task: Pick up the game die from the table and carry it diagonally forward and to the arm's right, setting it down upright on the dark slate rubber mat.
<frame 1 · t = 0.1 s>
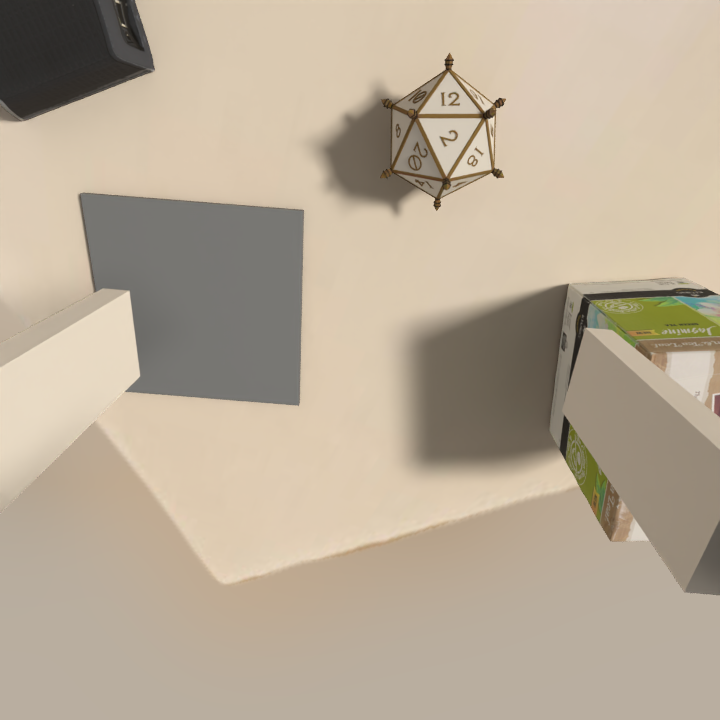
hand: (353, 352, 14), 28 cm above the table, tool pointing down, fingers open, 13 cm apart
tea box: (608, 358, 44), on the table
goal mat: (200, 306, 43), on the table
game die: (436, 138, 37), on the table
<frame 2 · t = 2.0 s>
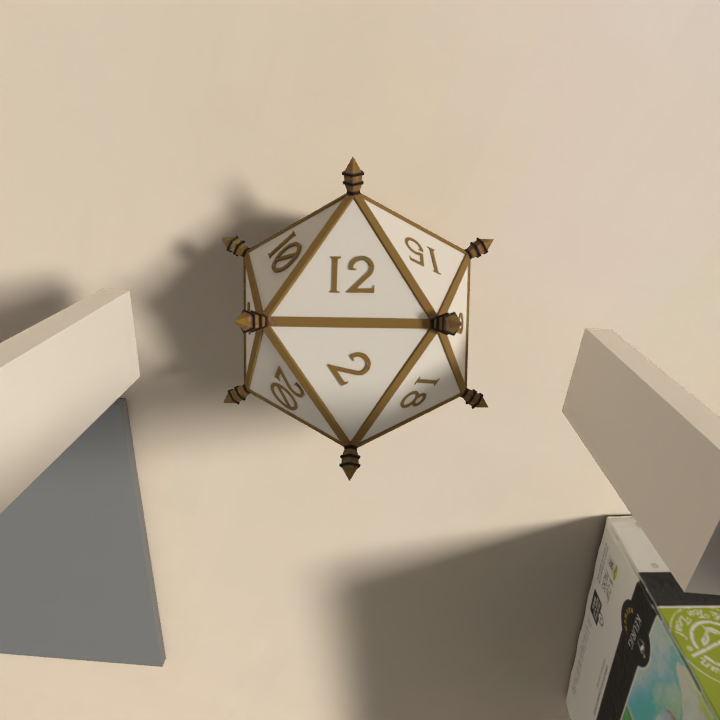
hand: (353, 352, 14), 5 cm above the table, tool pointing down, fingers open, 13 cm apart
tea box: (667, 613, 26), on the table
game die: (360, 285, 19), on the table
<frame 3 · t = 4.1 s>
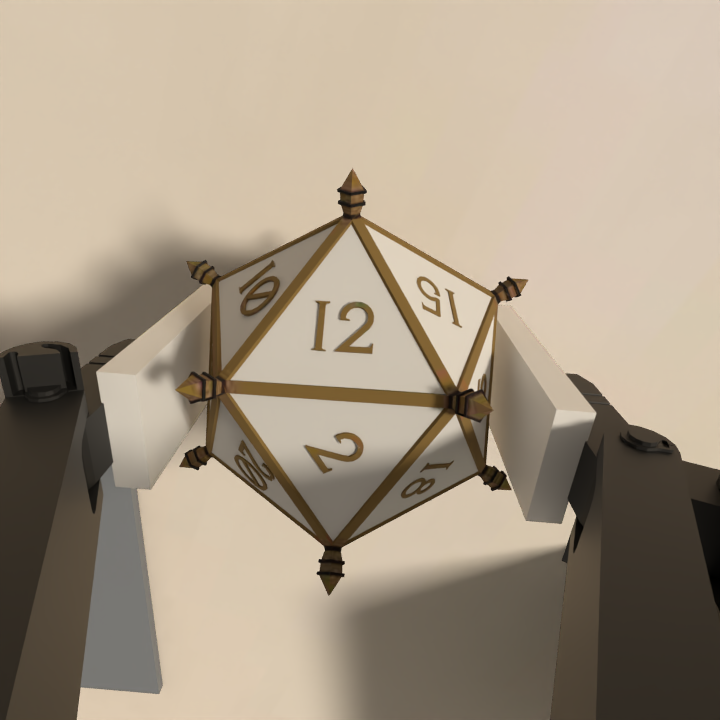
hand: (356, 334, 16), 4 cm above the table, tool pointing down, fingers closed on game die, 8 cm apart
game die: (359, 319, 16), point 3 cm above the table, touching gripper
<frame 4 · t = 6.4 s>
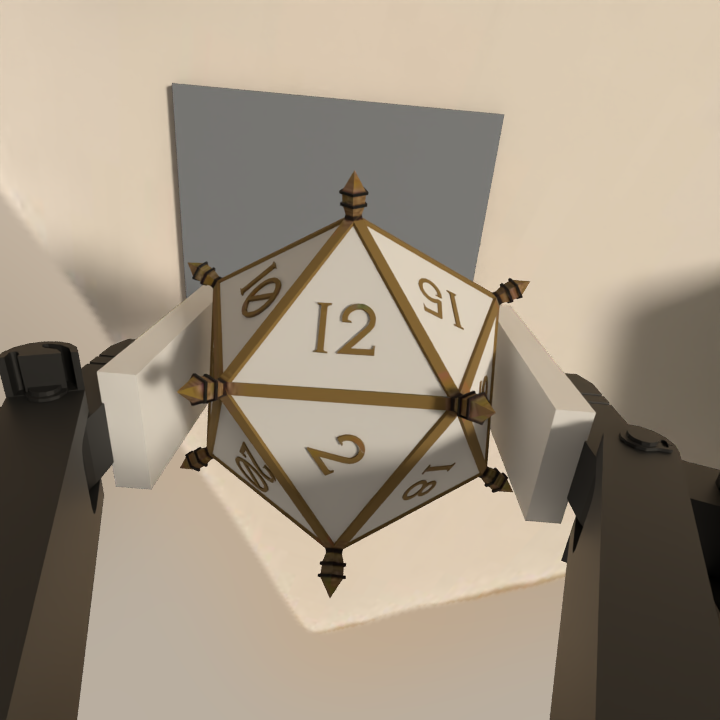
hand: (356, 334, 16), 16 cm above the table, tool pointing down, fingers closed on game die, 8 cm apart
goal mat: (329, 261, 30), on the table
game die: (360, 320, 16), point 15 cm above the table, touching gripper
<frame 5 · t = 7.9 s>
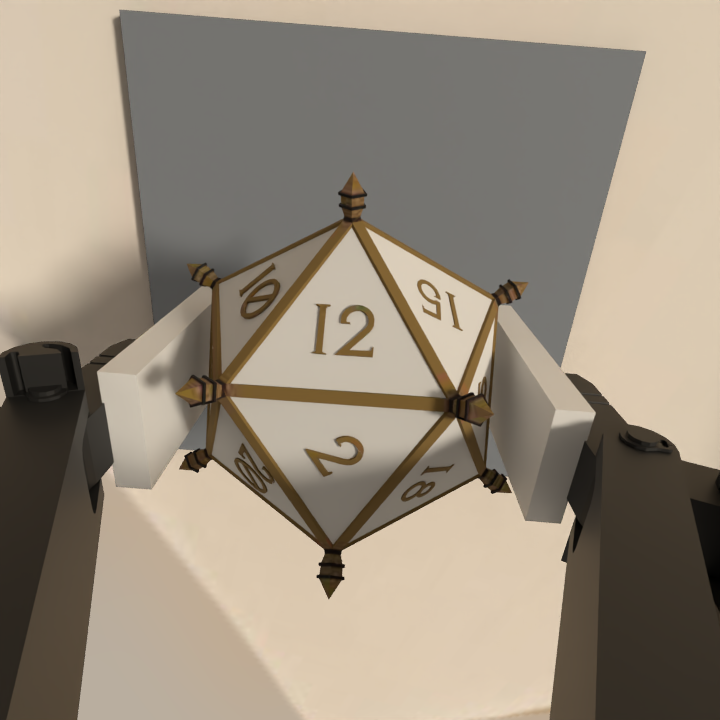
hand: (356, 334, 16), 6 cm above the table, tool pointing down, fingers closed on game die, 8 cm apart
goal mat: (362, 283, 21), on the table
game die: (359, 321, 16), point 5 cm above the table, touching gripper
when the fingers open (2 cm above the table, at t = 8.9 s): game die stays where it is, resting on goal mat.
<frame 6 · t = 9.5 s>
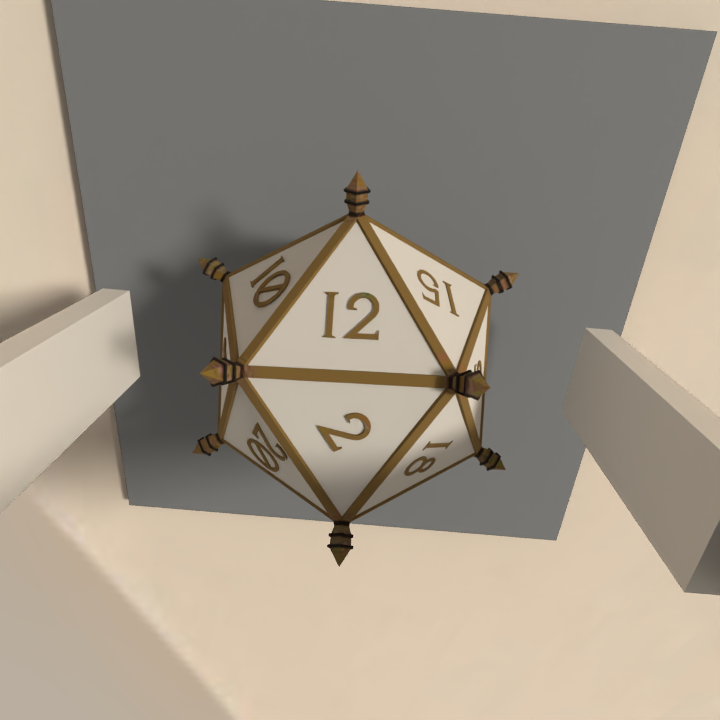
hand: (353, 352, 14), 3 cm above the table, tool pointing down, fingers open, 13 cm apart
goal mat: (358, 316, 17), on the table
game die: (358, 314, 17), resting on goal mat
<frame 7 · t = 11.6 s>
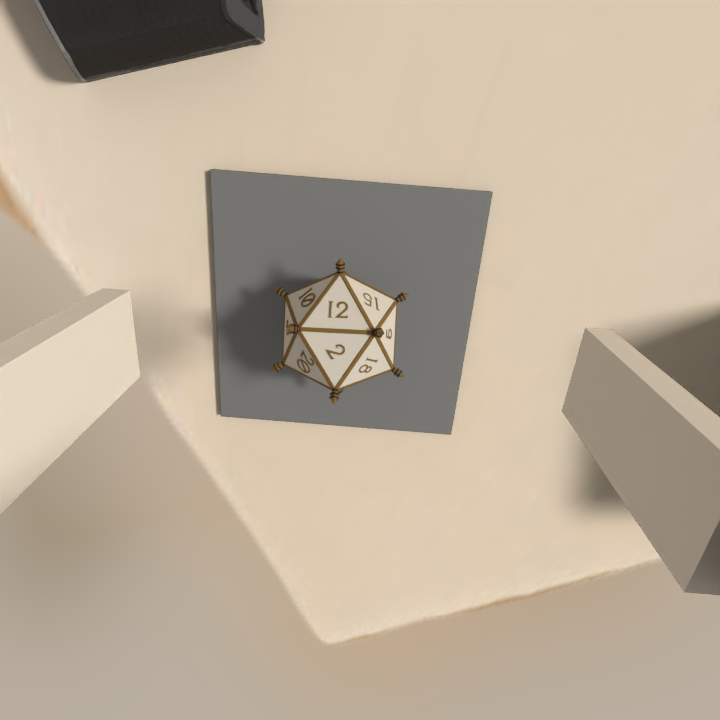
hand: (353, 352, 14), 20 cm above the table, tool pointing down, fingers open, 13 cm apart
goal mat: (343, 313, 35), on the table
game die: (343, 312, 35), resting on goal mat
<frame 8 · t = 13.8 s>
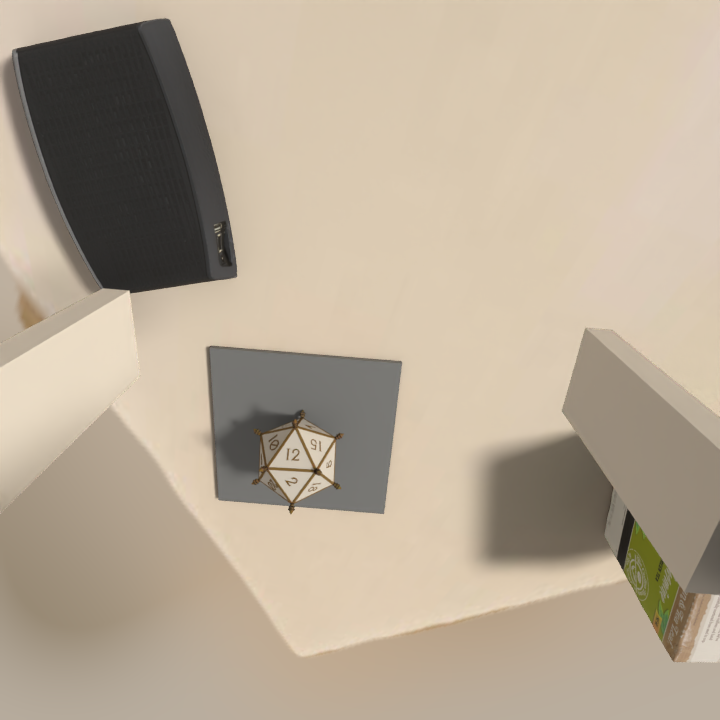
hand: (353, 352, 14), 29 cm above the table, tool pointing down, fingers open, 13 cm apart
external hard drive: (142, 171, 40), on the table
tea box: (658, 478, 50), on the table
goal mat: (303, 434, 49), on the table
game die: (303, 434, 49), resting on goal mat
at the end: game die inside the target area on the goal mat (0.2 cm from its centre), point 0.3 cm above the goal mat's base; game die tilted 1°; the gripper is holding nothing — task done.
